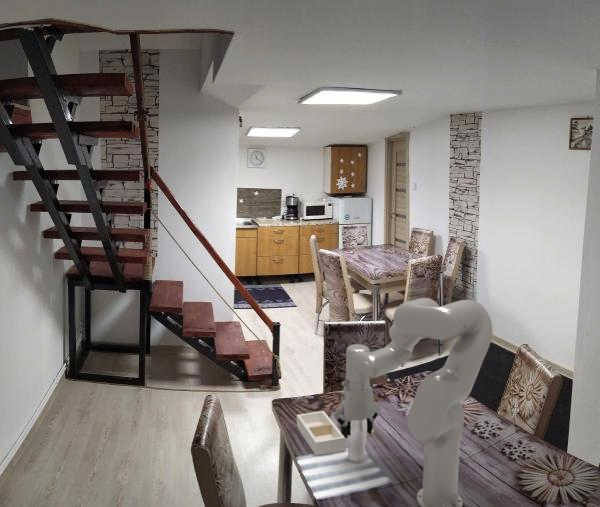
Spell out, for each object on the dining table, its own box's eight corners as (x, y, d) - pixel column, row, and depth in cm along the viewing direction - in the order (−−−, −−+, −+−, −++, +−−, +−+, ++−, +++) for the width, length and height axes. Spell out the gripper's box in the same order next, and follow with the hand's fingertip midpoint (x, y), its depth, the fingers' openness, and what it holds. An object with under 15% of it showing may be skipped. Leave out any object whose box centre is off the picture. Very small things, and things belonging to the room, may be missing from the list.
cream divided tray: (345, 450, 182) (345, 437, 181) (315, 455, 179) (315, 442, 178) (323, 422, 202) (323, 410, 201) (296, 426, 199) (296, 414, 198)
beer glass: (366, 465, 173) (367, 421, 171) (344, 462, 175) (345, 419, 172) (367, 453, 180) (368, 411, 178) (347, 451, 182) (347, 409, 179)
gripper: (336, 391, 167) (336, 444, 170) (387, 384, 172) (386, 435, 175) (328, 382, 174) (327, 433, 177) (377, 375, 179) (376, 425, 182)
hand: (356, 434), depth 176 cm, fingers open, 7 cm apart
